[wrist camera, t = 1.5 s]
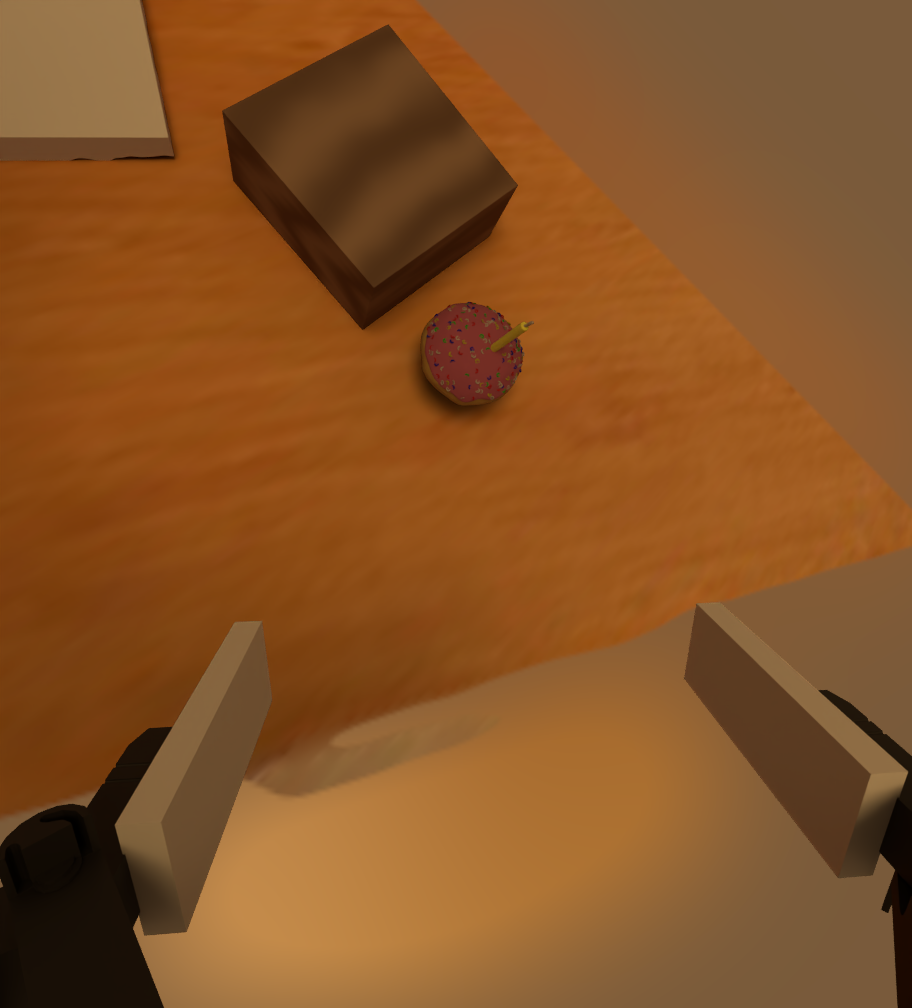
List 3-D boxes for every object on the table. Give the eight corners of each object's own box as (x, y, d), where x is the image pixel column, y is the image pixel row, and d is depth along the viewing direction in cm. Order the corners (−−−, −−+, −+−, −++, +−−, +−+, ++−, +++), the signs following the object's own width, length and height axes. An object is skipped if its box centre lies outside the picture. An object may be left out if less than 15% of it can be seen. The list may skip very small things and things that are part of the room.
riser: (233, 180, 45) (222, 110, 38) (375, 99, 49) (388, 24, 43) (362, 329, 46) (373, 287, 39) (488, 236, 51) (517, 185, 44)
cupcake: (508, 347, 50) (571, 279, 38) (490, 432, 48) (550, 387, 37) (421, 316, 48) (460, 234, 36) (399, 403, 46) (432, 346, 35)
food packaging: (177, 168, 44) (130, -57, 45) (168, 137, 41) (117, -104, 42) (-41, 171, 40) (-89, -78, 41) (-71, 137, 37) (-122, -133, 38)
